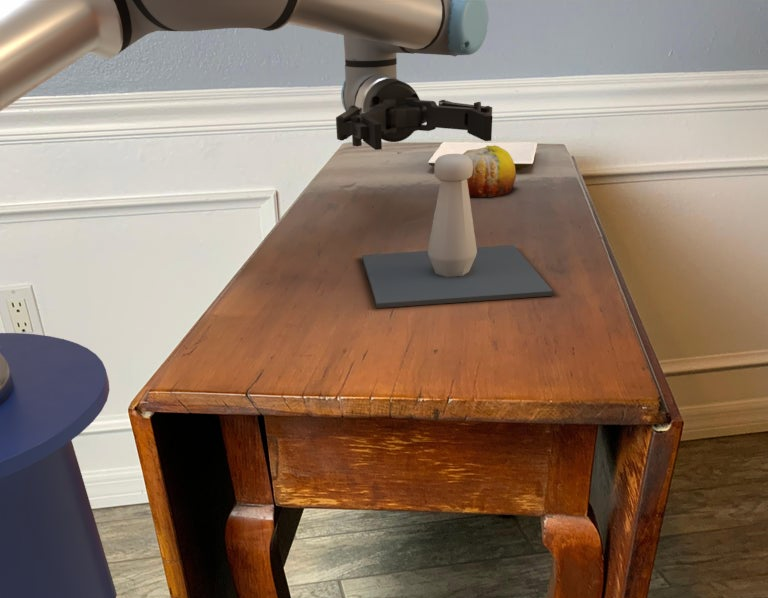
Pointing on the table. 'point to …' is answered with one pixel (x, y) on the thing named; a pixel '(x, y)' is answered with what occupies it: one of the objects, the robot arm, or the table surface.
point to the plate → (517, 150)
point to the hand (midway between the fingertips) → (434, 132)
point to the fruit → (490, 172)
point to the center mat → (452, 278)
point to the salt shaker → (452, 218)
